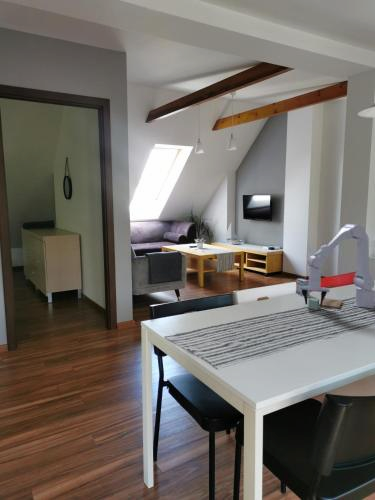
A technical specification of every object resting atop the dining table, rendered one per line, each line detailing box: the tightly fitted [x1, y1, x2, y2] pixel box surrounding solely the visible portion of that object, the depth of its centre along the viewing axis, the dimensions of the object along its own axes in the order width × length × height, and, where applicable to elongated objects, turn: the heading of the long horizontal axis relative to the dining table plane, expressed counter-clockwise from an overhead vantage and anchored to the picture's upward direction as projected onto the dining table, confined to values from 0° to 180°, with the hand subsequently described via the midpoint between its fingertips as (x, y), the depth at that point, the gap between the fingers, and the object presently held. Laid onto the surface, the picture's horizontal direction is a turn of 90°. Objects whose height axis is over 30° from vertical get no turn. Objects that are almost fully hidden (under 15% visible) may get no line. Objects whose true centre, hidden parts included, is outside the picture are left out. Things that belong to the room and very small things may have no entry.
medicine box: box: [295, 278, 311, 297], centre depth 222 cm, size 8×4×9 cm, turn 17°
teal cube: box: [307, 297, 320, 310], centre depth 195 cm, size 4×4×4 cm
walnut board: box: [319, 298, 344, 310], centre depth 201 cm, size 10×14×1 cm
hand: (313, 304), depth 195 cm, fingers open, 7 cm apart
